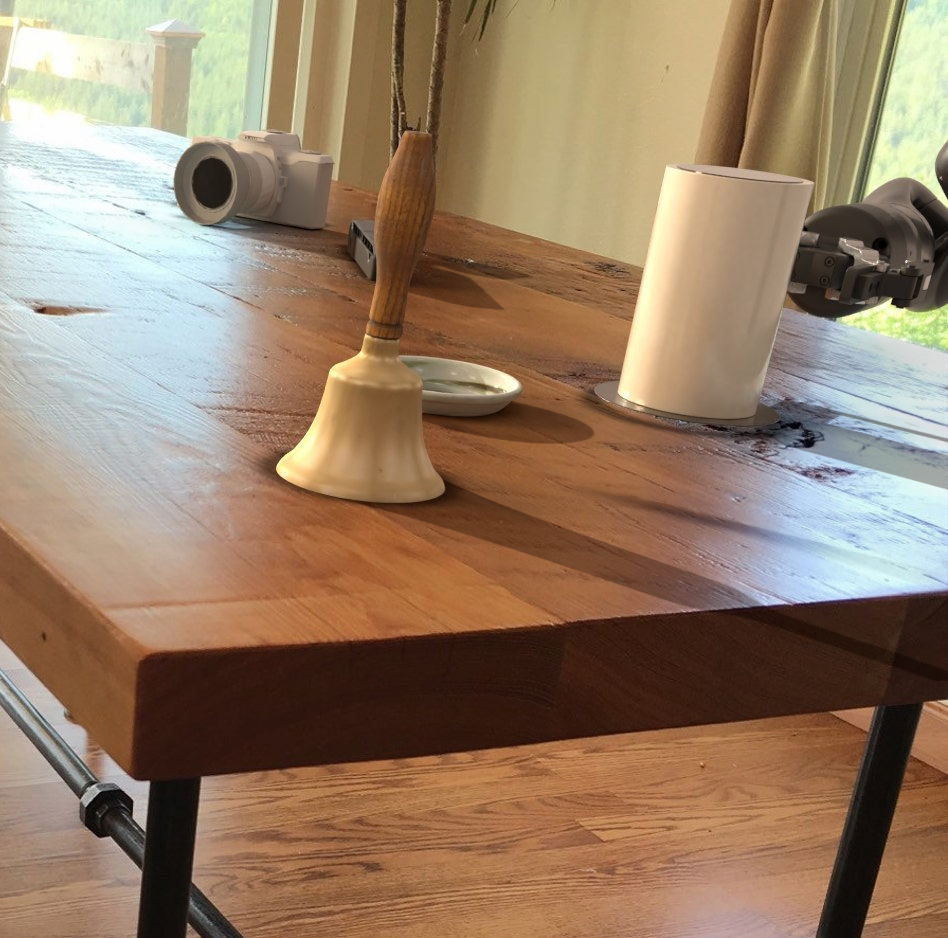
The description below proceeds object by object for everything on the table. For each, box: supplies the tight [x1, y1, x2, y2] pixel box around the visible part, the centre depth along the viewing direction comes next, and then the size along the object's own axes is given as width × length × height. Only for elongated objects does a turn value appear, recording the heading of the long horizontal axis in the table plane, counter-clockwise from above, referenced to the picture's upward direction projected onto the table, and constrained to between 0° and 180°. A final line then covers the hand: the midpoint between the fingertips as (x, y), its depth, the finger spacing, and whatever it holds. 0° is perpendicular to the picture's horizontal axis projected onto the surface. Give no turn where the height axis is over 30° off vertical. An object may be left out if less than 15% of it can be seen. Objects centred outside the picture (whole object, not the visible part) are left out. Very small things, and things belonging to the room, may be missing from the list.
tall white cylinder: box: [618, 163, 815, 419], centre depth 98 cm, size 13×8×13 cm, turn 143°
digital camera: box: [173, 129, 335, 230], centre depth 163 cm, size 17×14×10 cm
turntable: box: [593, 380, 781, 427], centre depth 100 cm, size 11×11×1 cm
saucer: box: [399, 355, 524, 417], centre depth 94 cm, size 10×10×2 cm
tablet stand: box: [346, 218, 377, 282], centre depth 143 cm, size 18×3×3 cm, turn 0°
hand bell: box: [275, 130, 446, 504], centre depth 76 cm, size 8×8×16 cm
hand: (781, 275), depth 106 cm, fingers open, 8 cm apart
